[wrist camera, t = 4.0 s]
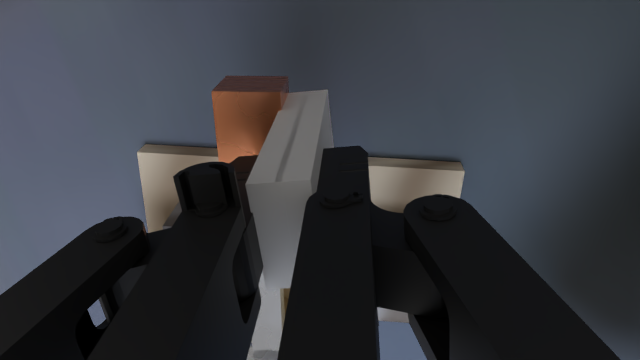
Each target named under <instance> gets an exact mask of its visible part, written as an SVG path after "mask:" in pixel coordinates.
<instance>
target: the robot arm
mask: <svg viewBox="0 0 640 360" xmlns="http://www.w3.org/2000/svg"><path fill="white" fill-rule="evenodd" d="M173 179H174V183H175V187H176V191H177V194H178V198H179V202H180V205H181V209H182V212H181V213H180V215H179V216H178V218H177V219H176V221H175V223H174V224H173V226H172V227H171V228H167V229H163V230H159V231H154V232H150V233H146V230H145V227H144V223H143V222H142V221H141V220H140V219H139V218H135V217H114V218H109V219H106V220H104V221H103V222H101V223H98V224H96V225H94V226H92V227H91V228H89V229H87V230H86V231H84V232H83V233H82V234H80V235H79V236H78V237H76V238H75V239H74V240H72V241H71V242H70V243H68V244H67V245H66V246H65V247H63V248H62V249H61V250H59V251H58V252H57V253H55V254H54V255H53V256H51V257H50V258H49V259H47V260H46V261H45V262H43V263H42V264H41V265H40V266H38V267H37V268H36V269H34V270H33V271H32V272H30V273H29V274H28V275H26V276H25V277H24V278H22V279H21V280H20V281H18V282H17V283H16V284H14V285H13V286H12V287H11V288H9V289H8V290H7V291H5V292H4V293H3V294H1V295H0V360H247V356H248V352H249V348H250V345H251V341H252V337H253V333H254V329H255V326H256V322H257V318H258V314H259V311H260V307H261V294H260V289H259V281H260V277H261V274H262V271H263V276H264V281H265V286H266V289H283V288H290V292H289V298H288V303H287V309H286V314H285V320H284V325H283V330H282V336H281V341H280V347H279V352H278V357H277V360H380V348H379V331H378V326H379V322H378V309H377V307H380V308H385V309H390V310H395V311H400V312H405V313H408V319H409V324H410V326H411V328H412V330H413V332H414V334H415V336H416V338H417V340H418V342H419V344H420V346H421V348H422V350H423V352H424V354H425V356H426V358H427V360H620V359H619V358H618V357H617V356H616V354H615V353H614V352H613V351H612V350H611V349H610V348H609V347H608V346H607V345H606V344H605V343H604V342H603V341H602V340H601V339H600V338H599V337H598V336H597V335H596V334H595V333H594V332H593V331H592V330H591V329H590V328H589V327H588V326H587V325H586V323H585V322H584V321H583V320H582V319H581V318H580V317H579V316H578V315H577V314H576V313H575V312H574V311H573V310H572V309H571V308H570V307H569V306H568V305H567V304H566V303H565V302H564V301H563V300H562V299H561V298H560V297H559V296H558V295H557V294H556V292H555V291H554V290H553V289H552V288H551V287H550V286H549V285H548V284H547V283H546V282H545V281H544V280H543V279H542V278H541V277H540V276H539V275H538V274H537V273H536V272H535V271H534V270H533V269H532V268H531V267H530V266H529V265H528V264H527V263H526V261H525V260H524V259H523V258H522V257H521V256H520V255H519V254H518V253H517V252H516V251H515V250H514V249H513V248H512V247H511V246H510V245H509V244H508V243H507V242H506V241H505V240H504V239H503V238H502V237H501V236H500V235H499V234H498V233H497V231H496V230H495V229H494V228H493V227H492V226H491V225H490V224H489V223H488V222H487V221H486V220H485V219H484V218H483V217H482V216H481V215H480V214H479V213H478V212H477V211H476V210H475V209H474V208H473V207H472V206H471V205H470V204H469V203H467V202H466V201H464V200H463V199H460V198H456V197H453V196H450V195H442V194H434V195H428V196H423V197H420V198H416V199H414V200H412V201H411V202H409V203H408V204H407V205H406V207H405V208H404V210H403V213H396V212H391V211H387V210H384V209H381V208H379V207H378V206H376V205H374V204H373V202H372V201H371V192H370V179H369V165H368V153H367V152H366V151H365V150H364V149H363V148H362V147H360V146H350V147H337V148H334V143H333V134H332V125H331V115H330V106H329V97H328V89H327V90H316V91H305V92H294V93H288V96H287V98H286V100H285V103H284V105H283V107H282V110H280V111H278V113H277V115H276V118H275V120H274V122H273V124H272V126H271V129H270V131H269V133H268V135H267V137H266V140H265V142H264V144H263V146H262V149H261V151H260V153H259V155H251V156H239V157H237V158H236V159H235V160H233V161H232V162H230V163H225V162H205V163H199V164H196V165H193V166H189V167H187V168H185V169H183V170H181V171H179V172H178V173H177V174H175V175H174V176H173ZM98 299H99V301H100V304H101V307H102V309H103V312H104V314H105V317H106V319H105V321H104V322H103V323H102V324H100V325H99V326H97V327H95V325H94V324H93V322H92V320H91V317H90V315H89V312H88V310H87V309H88V308H89V307H90V306H91V305H92V304H93V303H94V302H95V301H97V300H98Z"/></svg>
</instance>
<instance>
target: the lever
mask: <svg viewBox="0 0 640 360" xmlns="http://www.w3.org/2000/svg"><path fill="white" fill-rule="evenodd" d="M288 93H289V86H288V77H287V76H226V77H225V78H224V79H223V80H222V81H221V82H220V83H219V84H218V85H217V86H216V87H215V88H214V89H213V90H212V101H213V110H214V120H215V130H216V139H217V149H218V159H219V162H225V163H230V162H232V161H233V160H235V159H236V158H237V157H239V156H251V155H259V153H260V151H261V149H262V146H263V144H264V142H265V140H266V137H267V135H268V133H269V131H270V129H271V126H272V124H273V122H274V120H275V118H276V115H277V113H278V111H280V110H282V107H283V105H284V103H285V100H286V98H287V96H288ZM259 289H260V294H261V307H260V311H259V314H258V318H257V322H256V326H255V329H254V333H253V337H252V341H251V345H250V348H249V352H248V356H247V360H277V357H278V352H279V347H280V341H281V336H282V330H283V325H284V320H285V310H284V288H283V289H266V286H265V281H264V276H263V271H262V274H261V277H260V281H259Z"/></svg>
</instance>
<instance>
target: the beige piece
mask: <svg viewBox="0 0 640 360" xmlns="http://www.w3.org/2000/svg"><path fill="white" fill-rule="evenodd" d="M137 155H138V163H139V170H140V177H141V184H142V191H143V198H144V205H145V212H146V220H147V227H148V233H150V232H154V231H159V230H163V229H167V228H171V227H172V226H173V224H174V223H175V221H176V219H177V218H178V216H179V215H180V213H181V212H182V209H181V205H180V202H179V198H178V194H177V191H176V187H175V183H174V179H173V176H174V175H175V174H177V173H178V172H179V171H181V170H183V169H185V168H187V167H189V166H193V165H196V164H199V163H205V162H219V159H218V149H217V148H203V147H186V146H168V145H151V144H145V145H144V146H143V147H142V148H141V149H140V150H139V151H138V152H137ZM368 165H369V179H370V192H371V201H372V202H373V204H374V205H376V206H378V207H379V208H381V209H384V210H387V211H391V212H396V213H403V210H404V208H405V207H406V205H407V204H408V203H409V202H411V201H412V200H414V199H416V198H420V197H423V196H428V195H434V194H442V195H450V196H453V197H456V198H460V195H461V189H462V184H463V178H464V173H465V171H464V169H463V166H462V164H461V162H447V161H430V160H413V159H395V158H378V157H368ZM289 292H290V288H284V310H285V314H286V309H287V303H288V298H289ZM377 309H378V321H390V322H404V323H409V319H408V313H405V312H400V311H395V310H390V309H385V308H380V307H377Z"/></svg>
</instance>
